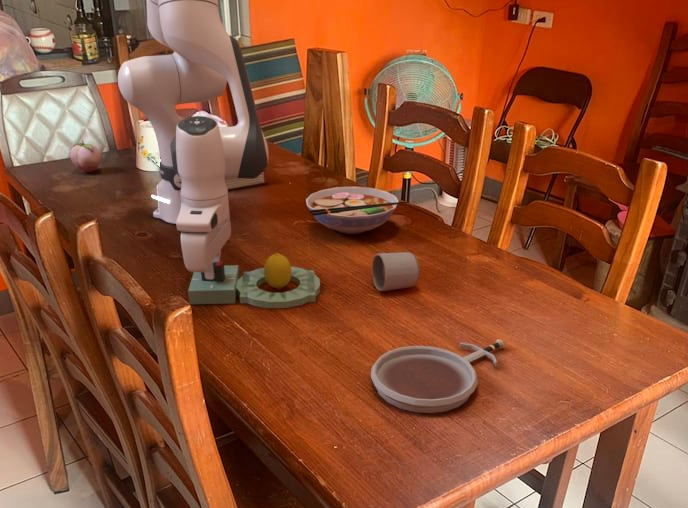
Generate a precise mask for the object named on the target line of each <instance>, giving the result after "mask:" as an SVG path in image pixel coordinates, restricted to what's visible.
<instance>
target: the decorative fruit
mask: <svg viewBox="0 0 688 508" xmlns="http://www.w3.org/2000/svg"><path fill="white" fill-rule="evenodd" d="M69 158H70V161H71V162H72V163H73V165H74V166H75V167H76V168H78V169H79V170H80V171H83V172H84V173H87V174H91V172H93V171H96V170H97V168H98V167H99V166H100V164H101V159H102V154H101V151H100V149H99V148H98V147H97V146H95V145H94V144H92V143H84V139H83V140H81V142H77V143H74V144H73V145H72V148H71V150H70V152H69Z"/></svg>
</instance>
